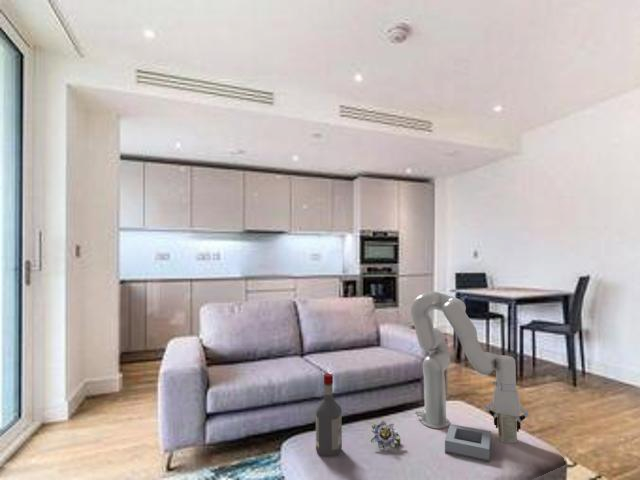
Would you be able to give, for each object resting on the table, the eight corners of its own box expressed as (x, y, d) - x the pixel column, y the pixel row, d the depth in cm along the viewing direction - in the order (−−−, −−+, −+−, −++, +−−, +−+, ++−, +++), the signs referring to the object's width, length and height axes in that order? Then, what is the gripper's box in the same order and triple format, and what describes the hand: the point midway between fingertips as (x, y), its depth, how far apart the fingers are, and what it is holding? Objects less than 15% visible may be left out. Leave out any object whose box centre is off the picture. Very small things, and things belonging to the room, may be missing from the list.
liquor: (343, 447, 156) (342, 372, 157) (336, 458, 148) (336, 379, 149) (321, 443, 159) (321, 370, 160) (314, 454, 151) (313, 377, 152)
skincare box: (513, 438, 163) (512, 408, 163) (517, 443, 158) (516, 413, 159) (497, 437, 163) (496, 408, 164) (501, 442, 159) (500, 412, 160)
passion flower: (385, 463, 154) (370, 442, 151) (378, 445, 164) (363, 425, 162) (408, 447, 154) (393, 426, 151) (399, 430, 164) (385, 410, 162)
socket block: (444, 453, 151) (444, 440, 151) (450, 435, 165) (450, 423, 165) (489, 462, 144) (489, 449, 144) (491, 443, 158) (490, 431, 158)
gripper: (483, 385, 162) (484, 428, 162) (530, 392, 155) (531, 436, 154) (484, 380, 169) (485, 421, 168) (529, 386, 161) (530, 429, 161)
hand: (507, 428), depth 161 cm, fingers open, 7 cm apart
